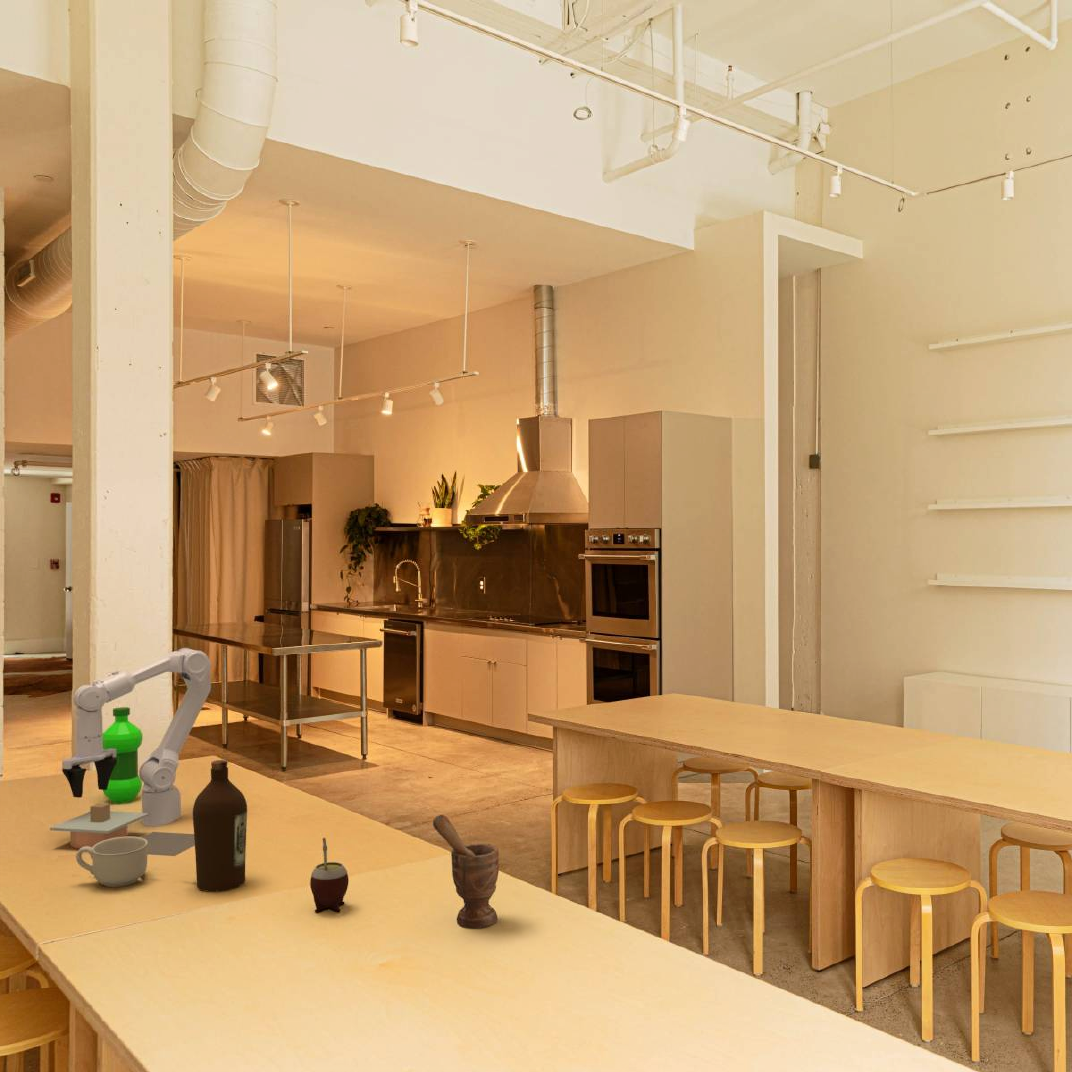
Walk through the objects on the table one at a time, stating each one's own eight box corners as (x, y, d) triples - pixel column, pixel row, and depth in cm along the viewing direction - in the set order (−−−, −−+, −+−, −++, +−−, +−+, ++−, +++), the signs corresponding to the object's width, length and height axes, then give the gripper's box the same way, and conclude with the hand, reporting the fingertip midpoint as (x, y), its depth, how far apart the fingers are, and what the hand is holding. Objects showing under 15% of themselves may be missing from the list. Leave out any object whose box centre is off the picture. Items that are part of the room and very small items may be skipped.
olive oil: (186, 893, 205) (184, 767, 205) (202, 876, 215) (200, 756, 215) (240, 892, 205) (239, 766, 205) (253, 875, 216) (251, 755, 216)
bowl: (93, 835, 247) (93, 814, 247) (138, 838, 244) (137, 817, 244) (59, 850, 235) (59, 828, 235) (105, 853, 232) (105, 831, 232)
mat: (153, 835, 246) (153, 831, 246) (213, 838, 243) (213, 835, 243) (110, 855, 231) (110, 851, 231) (174, 859, 227) (174, 855, 227)
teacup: (157, 874, 217) (157, 836, 217) (132, 892, 206) (131, 852, 207) (94, 873, 219) (94, 835, 219) (66, 890, 208) (65, 851, 208)
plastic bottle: (114, 795, 286) (113, 705, 286) (150, 796, 284) (149, 705, 284) (94, 805, 276) (92, 711, 276) (131, 805, 275) (129, 711, 275)
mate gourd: (335, 899, 200) (333, 822, 200) (358, 909, 195) (357, 829, 195) (301, 909, 195) (300, 830, 195) (324, 920, 190) (323, 838, 190)
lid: (93, 812, 249) (92, 795, 249) (148, 815, 245) (148, 798, 245) (50, 830, 234) (49, 812, 234) (108, 833, 230) (107, 815, 231)
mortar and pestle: (455, 938, 180) (454, 823, 180) (428, 924, 186) (427, 814, 186) (508, 922, 187) (507, 812, 187) (481, 909, 194) (479, 803, 194)
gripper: (77, 742, 238) (78, 801, 238) (125, 731, 251) (126, 787, 251) (55, 740, 240) (56, 799, 240) (103, 729, 254) (104, 785, 254)
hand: (90, 793), depth 246 cm, fingers open, 7 cm apart
